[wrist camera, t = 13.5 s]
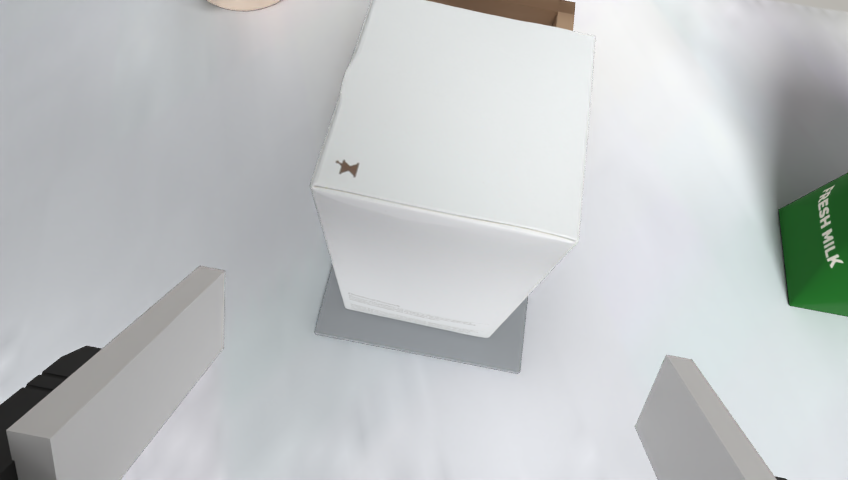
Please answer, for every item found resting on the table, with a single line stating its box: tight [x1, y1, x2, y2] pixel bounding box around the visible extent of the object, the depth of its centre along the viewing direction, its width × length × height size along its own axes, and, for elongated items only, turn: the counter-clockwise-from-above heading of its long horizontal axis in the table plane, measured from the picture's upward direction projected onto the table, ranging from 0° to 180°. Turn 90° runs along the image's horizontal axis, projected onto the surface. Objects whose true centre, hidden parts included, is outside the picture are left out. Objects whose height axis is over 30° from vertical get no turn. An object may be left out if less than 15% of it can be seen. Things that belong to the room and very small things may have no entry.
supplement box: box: [310, 0, 596, 338], centre depth 24 cm, size 9×9×15 cm
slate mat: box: [314, 265, 528, 374], centre depth 31 cm, size 12×12×1 cm
